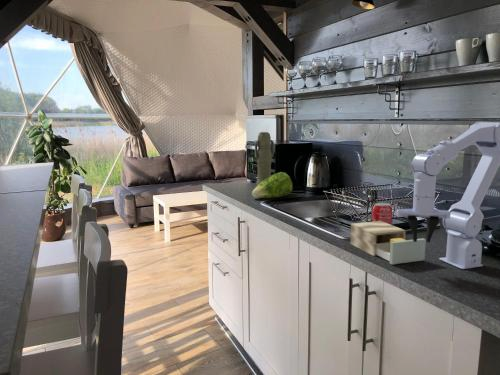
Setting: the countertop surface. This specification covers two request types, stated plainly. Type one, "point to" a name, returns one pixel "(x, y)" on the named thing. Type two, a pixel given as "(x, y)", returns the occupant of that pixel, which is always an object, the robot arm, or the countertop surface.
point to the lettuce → (274, 186)
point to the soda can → (382, 213)
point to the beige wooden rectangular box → (373, 235)
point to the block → (396, 240)
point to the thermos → (264, 156)
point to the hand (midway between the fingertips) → (421, 241)
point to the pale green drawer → (402, 251)
